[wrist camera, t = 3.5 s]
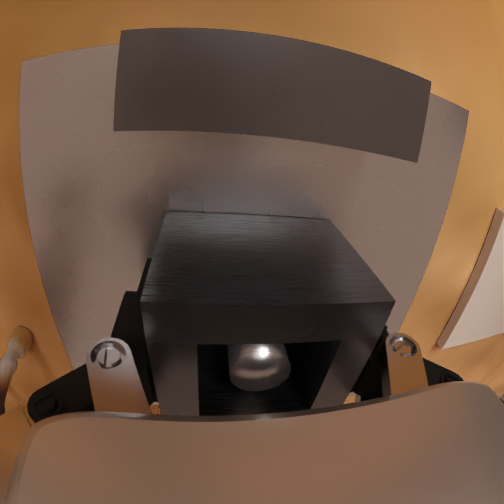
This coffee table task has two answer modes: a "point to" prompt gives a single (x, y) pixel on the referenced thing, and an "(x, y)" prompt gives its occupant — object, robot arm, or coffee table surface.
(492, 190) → the coffee table surface
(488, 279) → the pad
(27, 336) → the horse figurine
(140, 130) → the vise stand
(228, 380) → the collar
